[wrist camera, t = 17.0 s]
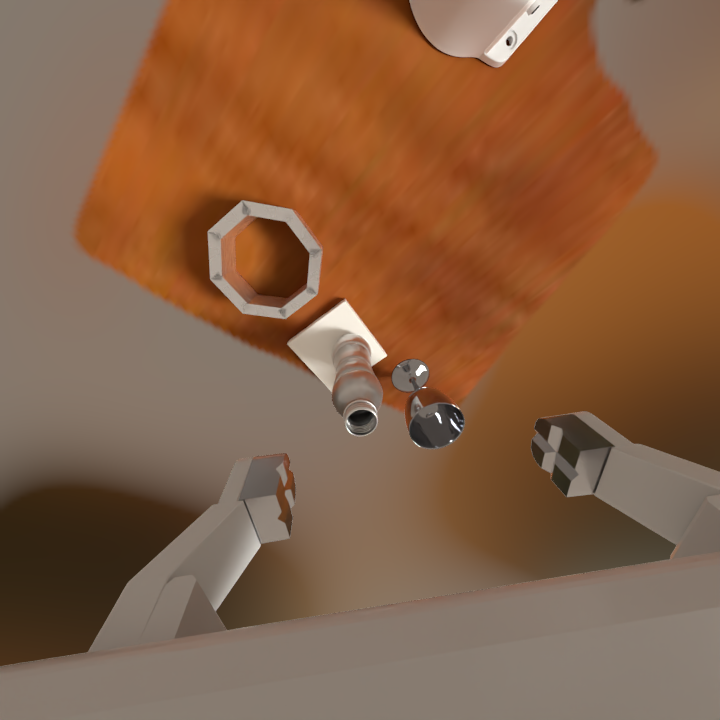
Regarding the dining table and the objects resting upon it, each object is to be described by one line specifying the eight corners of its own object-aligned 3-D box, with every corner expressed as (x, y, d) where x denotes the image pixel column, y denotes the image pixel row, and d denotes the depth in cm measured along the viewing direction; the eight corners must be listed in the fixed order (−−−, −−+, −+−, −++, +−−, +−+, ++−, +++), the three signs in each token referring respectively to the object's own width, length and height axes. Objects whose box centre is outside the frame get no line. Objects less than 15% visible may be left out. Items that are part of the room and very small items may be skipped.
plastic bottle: (372, 331, 48) (396, 397, 30) (366, 367, 50) (386, 448, 32) (332, 327, 47) (333, 393, 29) (329, 365, 50) (328, 446, 32)
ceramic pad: (345, 298, 46) (345, 300, 45) (385, 352, 51) (387, 355, 50) (288, 340, 49) (287, 344, 47) (332, 388, 53) (332, 392, 52)
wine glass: (381, 382, 54) (397, 435, 40) (407, 349, 51) (434, 393, 38) (413, 400, 56) (439, 456, 43) (440, 370, 54) (476, 419, 40)
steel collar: (276, 183, 39) (268, 176, 33) (339, 270, 44) (341, 276, 39) (203, 248, 41) (184, 252, 36) (271, 322, 47) (263, 335, 42)
